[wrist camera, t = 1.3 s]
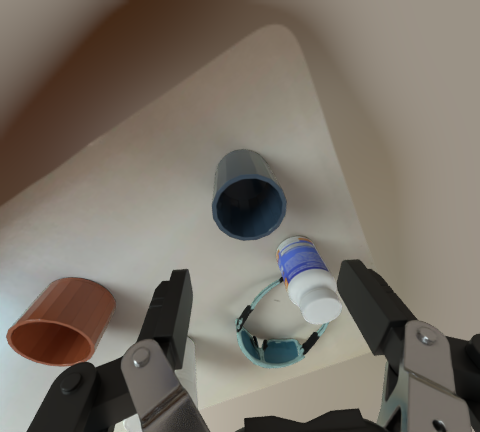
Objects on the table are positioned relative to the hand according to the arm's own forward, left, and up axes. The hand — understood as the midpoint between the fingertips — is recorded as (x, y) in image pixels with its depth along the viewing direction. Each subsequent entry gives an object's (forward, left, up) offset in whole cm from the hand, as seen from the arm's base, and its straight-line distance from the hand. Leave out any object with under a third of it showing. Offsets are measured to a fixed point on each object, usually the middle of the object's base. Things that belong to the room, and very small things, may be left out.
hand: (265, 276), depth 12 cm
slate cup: (0, 0, -15) cm, 15 cm away
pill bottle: (+11, +7, -16) cm, 20 cm away
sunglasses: (+24, +6, -16) cm, 29 cm away
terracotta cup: (+18, -24, -15) cm, 34 cm away
